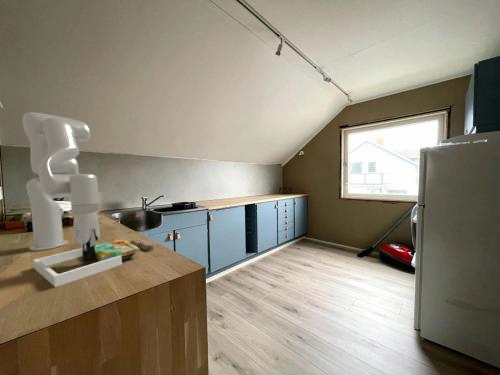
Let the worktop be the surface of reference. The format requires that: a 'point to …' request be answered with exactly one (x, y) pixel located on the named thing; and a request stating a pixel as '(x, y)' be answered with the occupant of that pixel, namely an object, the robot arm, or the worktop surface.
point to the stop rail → (142, 245)
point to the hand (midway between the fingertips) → (89, 260)
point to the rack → (72, 275)
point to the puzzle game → (115, 249)
